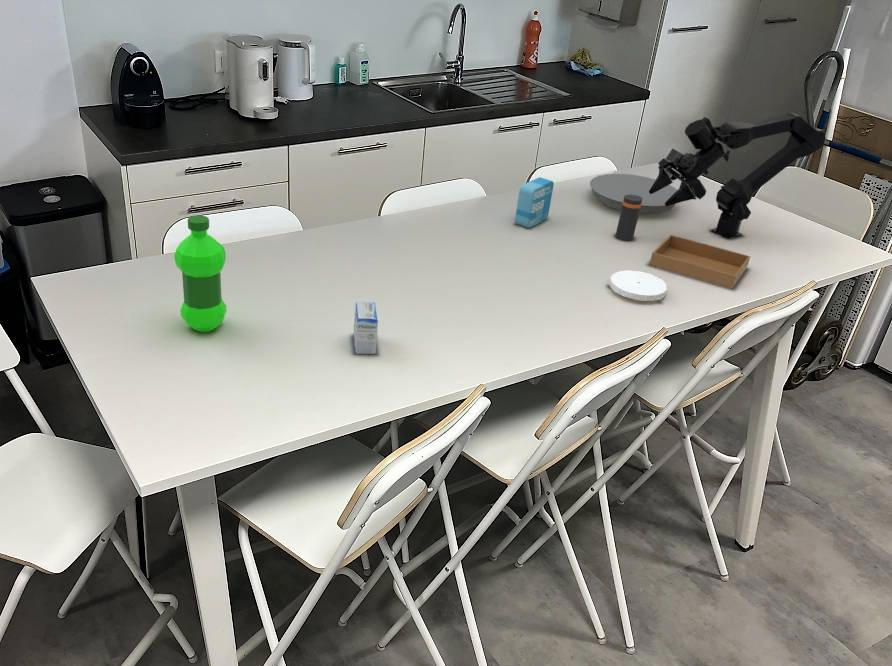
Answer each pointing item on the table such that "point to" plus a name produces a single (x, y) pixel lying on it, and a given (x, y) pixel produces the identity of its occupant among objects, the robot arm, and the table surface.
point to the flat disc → (631, 191)
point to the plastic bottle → (201, 276)
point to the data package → (534, 202)
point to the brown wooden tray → (700, 261)
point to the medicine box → (365, 328)
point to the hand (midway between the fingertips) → (657, 198)
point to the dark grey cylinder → (628, 217)
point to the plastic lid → (638, 285)
